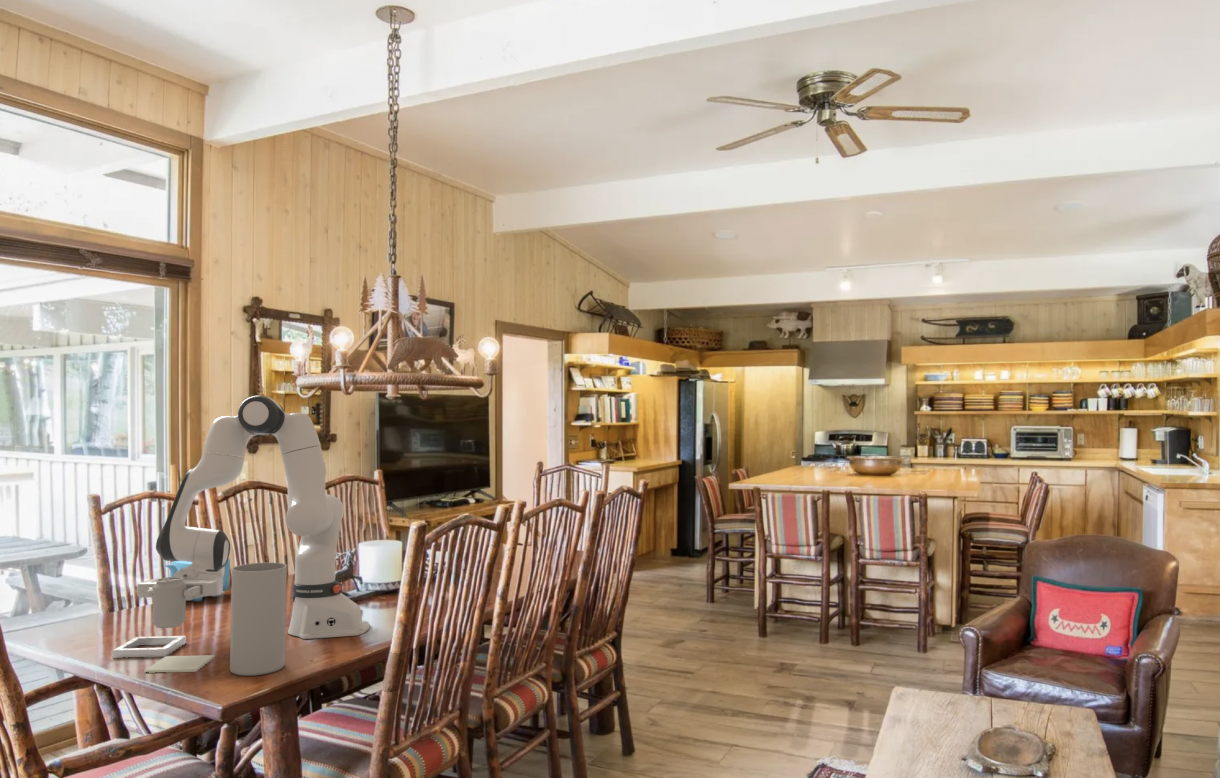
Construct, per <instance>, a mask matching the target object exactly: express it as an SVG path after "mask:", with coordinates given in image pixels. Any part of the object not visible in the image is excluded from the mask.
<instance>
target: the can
mask: <svg viewBox="0 0 1220 778" xmlns="http://www.w3.org/2000/svg"><path fill="white" fill-rule="evenodd" d="M156 579H157V580H156V582H157V583H156V584H155V585H154V586H153V597H152V625H153V626H154V627H155V628H157V629H172V628H177V627H179V626H182V625H183V624H184V622H185V621H186V606H187V605H186V604H187V600H186V597H184V596H183V594H184V593H183V591H184V590H185V589H186V583H185V582H184V581H183V578H182V577H170V576H168V577H166V576H165V577H161V578H156Z"/></svg>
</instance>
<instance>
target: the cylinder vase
mask: <svg viewBox="0 0 1220 778" xmlns="http://www.w3.org/2000/svg"><path fill="white" fill-rule="evenodd" d="M287 568H288V565H287V564H285V563H282V562H253V563H245V564H240V565H239V564H238V565H236V566H233V567H232V568H231V586H230V587H231V588H230V589H231V590H230V592H231V594H230V596H231V598H230V646H229V648H230V649H229V671H230V672H231V673H232V674H234V675H236V676H244V677H253V676H255V677H256V676H262V675H268V674H271V673H276V672H278V671H280V670H281V669H283V667H284V666H285V664H286V620H287V619H286V618H287V615H286V614H287V613H286V612H287Z"/></svg>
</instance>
